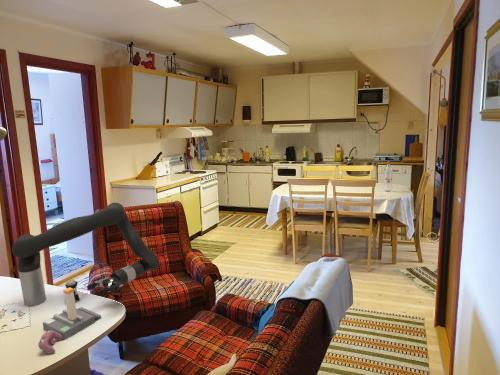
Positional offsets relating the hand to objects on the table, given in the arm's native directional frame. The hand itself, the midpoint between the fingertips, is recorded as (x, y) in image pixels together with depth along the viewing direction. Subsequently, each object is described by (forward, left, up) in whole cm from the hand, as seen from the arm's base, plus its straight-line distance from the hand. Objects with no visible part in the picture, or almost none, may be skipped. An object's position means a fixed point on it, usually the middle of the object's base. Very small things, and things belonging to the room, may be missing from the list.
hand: (93, 290), depth 165 cm
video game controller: (+4, -23, -12) cm, 27 cm away
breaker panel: (-3, -11, -12) cm, 17 cm away
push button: (-21, +2, -12) cm, 24 cm away
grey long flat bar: (-3, -2, -12) cm, 12 cm away
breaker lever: (0, -11, -9) cm, 14 cm away
